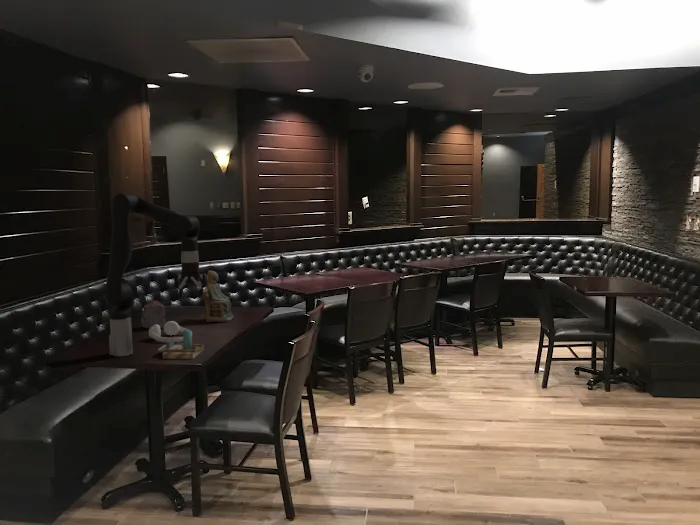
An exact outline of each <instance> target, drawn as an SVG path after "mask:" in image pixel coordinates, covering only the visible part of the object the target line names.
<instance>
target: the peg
mask: <svg viewBox="0 0 700 525" xmlns="http://www.w3.org/2000/svg"><path fill="white" fill-rule="evenodd" d="M191 332H192V330H191V329H188V330H184V331H183V332H182V337H183V343H182V344H183V345H184V349H187V350H192V344H193V332H192V333H191Z"/></svg>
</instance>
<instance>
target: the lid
mask: <svg viewBox="0 0 700 525" xmlns="http://www.w3.org/2000/svg"><path fill="white" fill-rule="evenodd" d="M174 344H175V343H174V339H170V340H169V341H167V342H165V344H163V345H162V346H161V347H159V348H158V349H157V351H158V352H165V349H180V348H181V347H182V345H174Z"/></svg>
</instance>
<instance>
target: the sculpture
mask: <svg viewBox="0 0 700 525" xmlns="http://www.w3.org/2000/svg"><path fill="white" fill-rule="evenodd" d="M206 275H207V285H208V286H207V287H205V288H203V296H202V297H203V301H204V304H205V306H204V309H205V310H206V317H205V319H206V323H207V322H227V321H231V320H232V318H233V319H234V318H235V316H234V315H233V313H232V310H231V309H232V307H231V305H232V304H231V300H230V297H229V296H228V295H225V294H223V292H222V290H221V288H220V286H219V284H218V281H219V275H218V272H216V271H214V270H207V274H206ZM232 321H233V320H232ZM232 321H231V322H232ZM227 323H228V322H227Z"/></svg>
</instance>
